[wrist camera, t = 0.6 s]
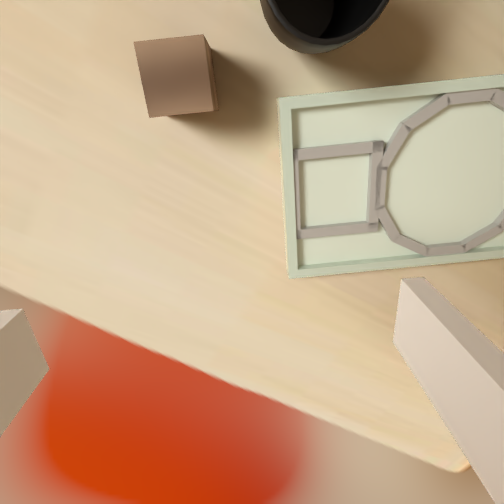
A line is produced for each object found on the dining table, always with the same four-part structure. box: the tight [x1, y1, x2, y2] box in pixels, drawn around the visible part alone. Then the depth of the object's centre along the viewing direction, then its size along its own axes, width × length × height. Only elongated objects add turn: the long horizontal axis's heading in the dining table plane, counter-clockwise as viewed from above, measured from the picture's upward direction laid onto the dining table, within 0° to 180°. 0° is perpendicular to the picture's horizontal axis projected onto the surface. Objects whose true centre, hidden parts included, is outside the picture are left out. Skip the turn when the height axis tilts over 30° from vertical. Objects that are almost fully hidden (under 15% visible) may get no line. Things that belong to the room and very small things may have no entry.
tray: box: [277, 74, 504, 279], centre depth 33 cm, size 18×26×2 cm
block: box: [134, 35, 218, 118], centre depth 27 cm, size 5×5×6 cm
